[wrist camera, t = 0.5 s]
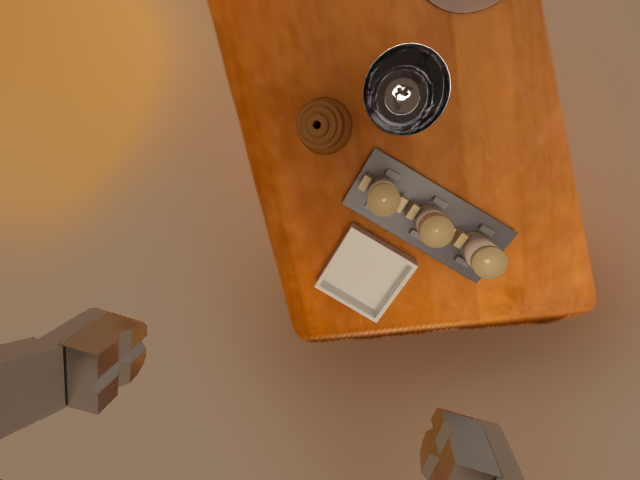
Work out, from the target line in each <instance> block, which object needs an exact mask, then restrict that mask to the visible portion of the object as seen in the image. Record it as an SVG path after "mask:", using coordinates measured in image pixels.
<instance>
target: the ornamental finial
mask: <svg viewBox="0 0 640 480" xmlns="http://www.w3.org/2000/svg"><path fill="white" fill-rule="evenodd" d="M331 110H332V111H333V112H332V111H331ZM320 126H321V127H320ZM296 128H297V133H298V135H299V137H300V139H301V140H302V142H303V144H304V145H305V146H306V147H307V148H308V149H309V150H311V151H313V152H315V153H317V154H324V155H325V154H332V153H335V152H337V151H338V150H340V149H341V148H342V147H343V146H344V145H345V144H346V143H347V141H348V139H349V137H350V134H351V129H352V122H351V117H350V114H349V112H348V110H347V109H346V108H345V106H344V105H343V104H342V103H340V102H339V101H337V100H335V99H332V98H328V97H322V98H318V99H315V100H313V101H311V102H310V103H308V104H307V105H305V106H304V107H303V108H302V110H301V111H300V113H299V115H298V117H297V122H296ZM325 143H326V144H325Z"/></svg>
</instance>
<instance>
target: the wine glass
mask: <svg viewBox="0 0 640 480" xmlns="http://www.w3.org/2000/svg"><path fill="white" fill-rule="evenodd" d="M450 90H451V81H450V75H449V71H448V68H447V66H446V64H445V62H444V61H443V59H442V58H441V57H440V55H439V54H438V53H437V52H435V51H434V50H433V49H431V48H429V47H427V46H425V45H421V44H417V43H405V44H400V45H397V46H394V47H392V48H390V49H388V50H387V51H385V52H384V53H383V54H381V55H380V56H379V57H378V58H377V59H376V60H375V61H374V63H373V64H372V66H371V67H370V69H369V71H368V73H367V76H366V78H365V82H364V87H363V102H364V106H365V110H366V112H367V115H368V117H369V118H370V120H371V121H372V122H373V123H374V125H375V126H376V127H378V128H379V129H380V130H382V131H383V132H386V133H388V134H391V135H395V136H409V135H413V134H417V133H419V132H421V131H423V130H425V129H427V128H428V127H430V126H431V125H432V124H433V123H434V122H435V121H436V120H437V119H438V118H439V117H440V115H441V114H442V113H443V111H444V109H445V107H446V105H447V102H448V99H449V96H450Z"/></svg>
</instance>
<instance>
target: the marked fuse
mask: <svg viewBox="0 0 640 480" xmlns="http://www.w3.org/2000/svg"><path fill="white" fill-rule="evenodd" d="M413 222H414V225H415V227H416V229H417V231H418V234H419V236H420V238H421V240H422V241H423V242H424V243H425V244H426V245H427V246H429V247H432V248H441V247H444V246H446V245H447V244H449V243H450V242H451V240H452V239H453V237H454V232H455V230H454V226H453V224H452V222H451V221H450V219H449V218H448V217H447V216H446V215H444V213H443V212H442V211H441V210H440V209H439V208H438V207H437V206H435V205H432V204H425V205H422V206H420V210H419V211H418V213H417V214H416V215H415V217H414V218H413Z"/></svg>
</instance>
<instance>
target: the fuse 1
mask: <svg viewBox="0 0 640 480" xmlns="http://www.w3.org/2000/svg"><path fill="white" fill-rule="evenodd" d="M400 203H401V197H400V194H399V192H398V189H397V187H396V185H395V183H394V182H393V181H392V180H391V179H389V178H387V177H378V178H376V179H374V180H373V181H372V182H371V183H370V185H369V187H368V195H367V205H368V208H369V209H370V211H371V212H372V213H373V214H375V215H377V216H380V217H387V216H390V215H392V214H394V213H395V212H396V211H397V210H398V208H399V206H400Z"/></svg>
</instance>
